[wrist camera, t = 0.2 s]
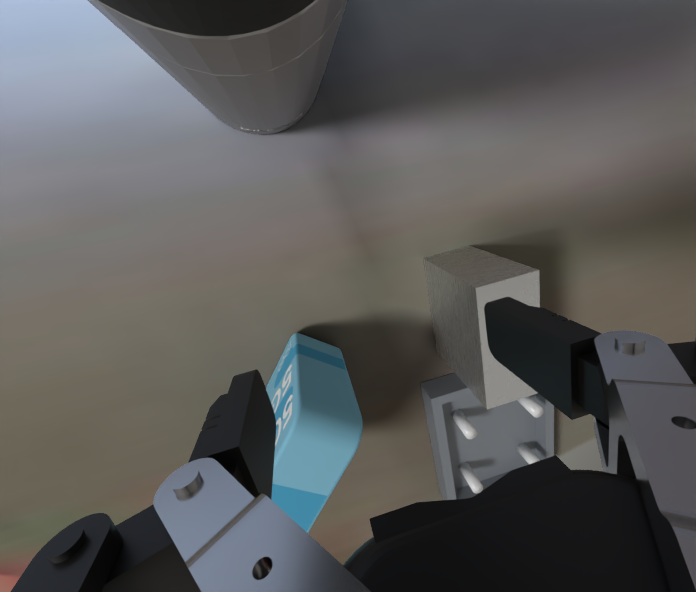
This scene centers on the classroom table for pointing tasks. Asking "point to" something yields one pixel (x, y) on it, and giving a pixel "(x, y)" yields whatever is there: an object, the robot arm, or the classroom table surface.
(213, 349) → the classroom table surface
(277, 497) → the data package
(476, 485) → the tray
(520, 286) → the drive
